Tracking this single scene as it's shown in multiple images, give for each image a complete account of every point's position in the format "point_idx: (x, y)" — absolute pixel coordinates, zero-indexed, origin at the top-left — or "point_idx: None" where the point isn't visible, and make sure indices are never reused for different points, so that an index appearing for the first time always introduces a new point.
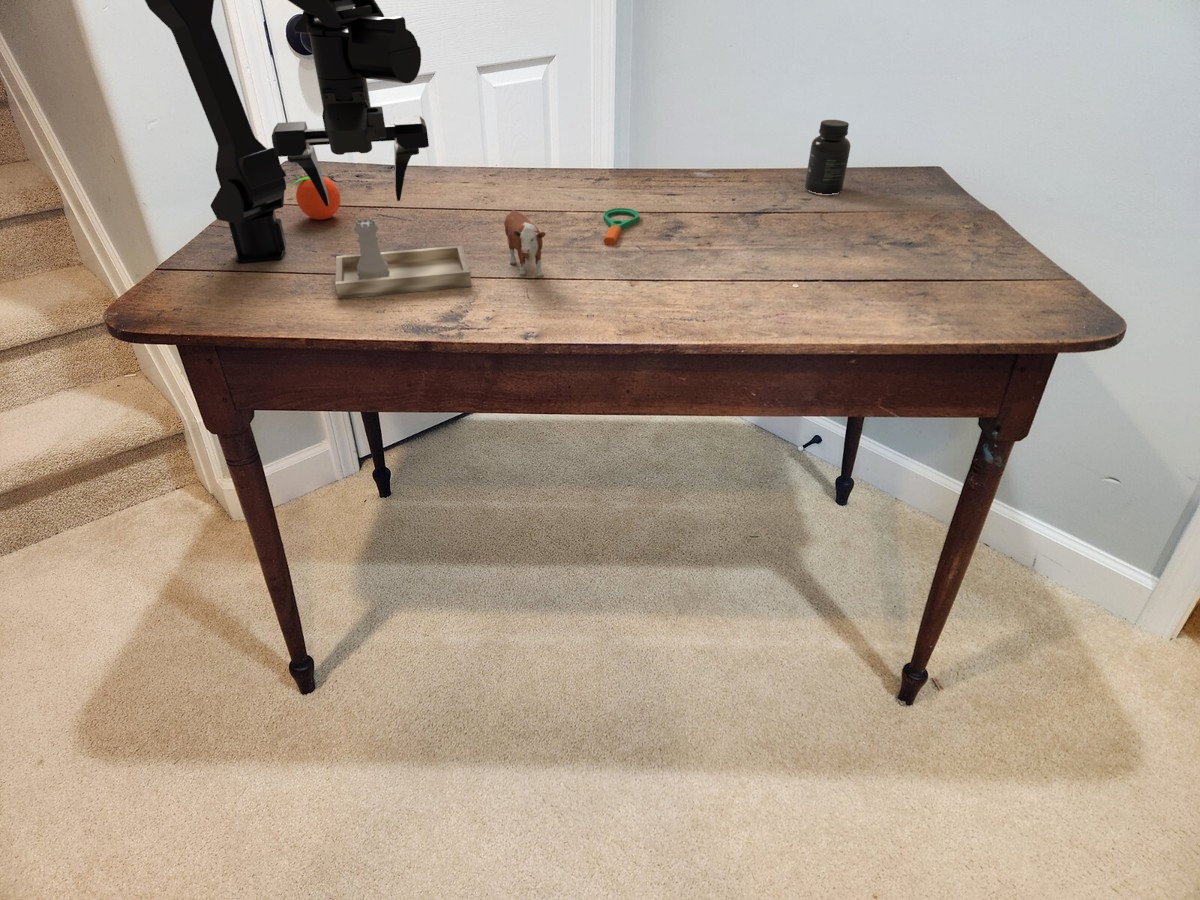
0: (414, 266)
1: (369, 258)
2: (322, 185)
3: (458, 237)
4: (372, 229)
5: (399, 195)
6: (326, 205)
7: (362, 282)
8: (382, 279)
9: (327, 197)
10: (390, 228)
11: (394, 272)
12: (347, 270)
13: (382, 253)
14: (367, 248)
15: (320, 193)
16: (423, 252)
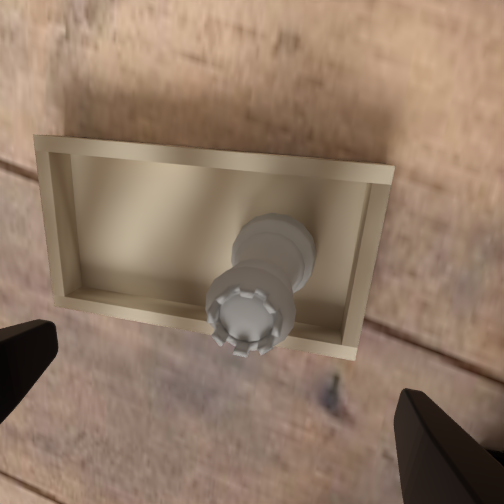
0: (176, 277)
1: (272, 244)
2: (478, 499)
3: (87, 401)
4: (226, 277)
5: (14, 326)
6: (417, 390)
7: (313, 159)
8: (255, 155)
9: (409, 437)
10: (213, 495)
11: (224, 259)
12: (334, 312)
13: None
14: (268, 257)
15: (476, 452)
16: (142, 308)
